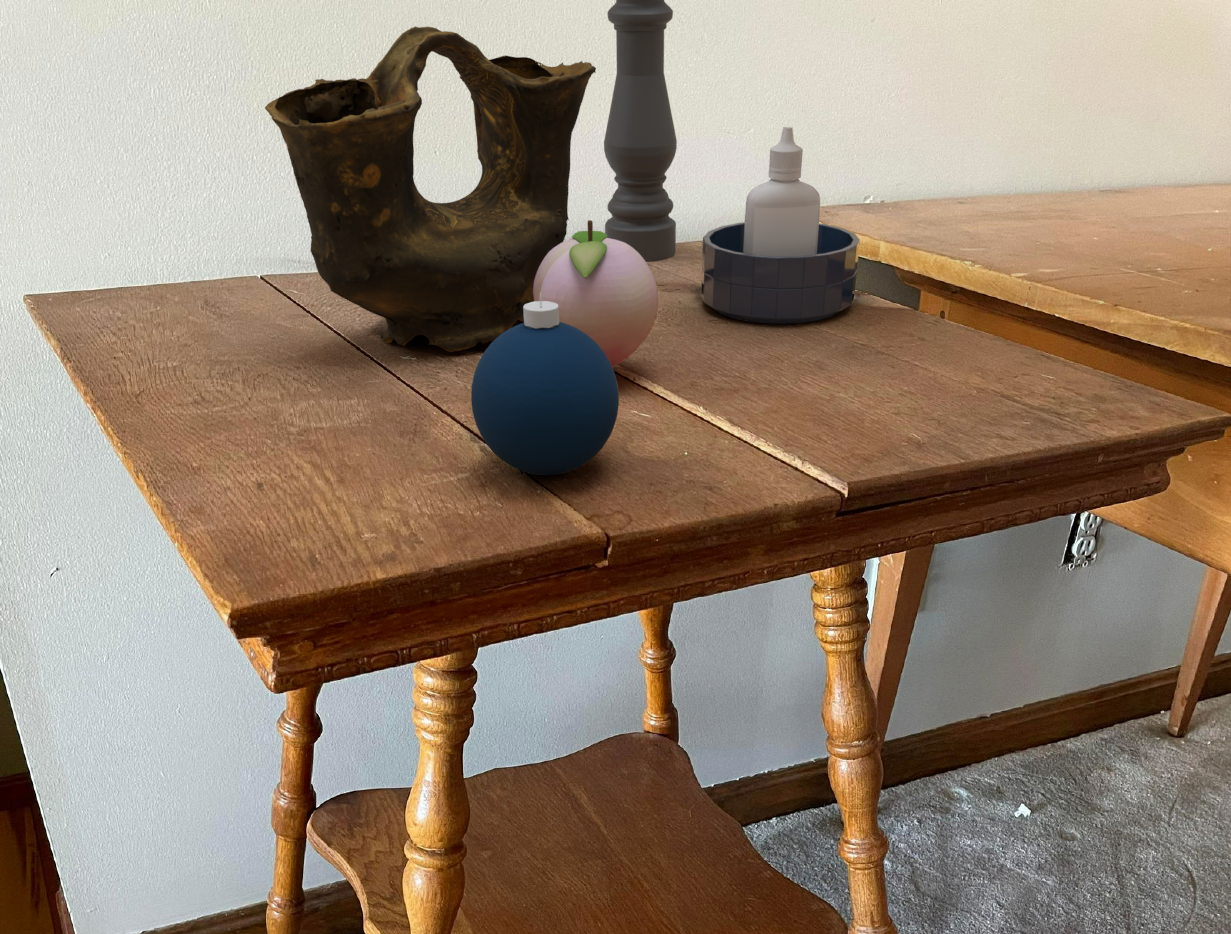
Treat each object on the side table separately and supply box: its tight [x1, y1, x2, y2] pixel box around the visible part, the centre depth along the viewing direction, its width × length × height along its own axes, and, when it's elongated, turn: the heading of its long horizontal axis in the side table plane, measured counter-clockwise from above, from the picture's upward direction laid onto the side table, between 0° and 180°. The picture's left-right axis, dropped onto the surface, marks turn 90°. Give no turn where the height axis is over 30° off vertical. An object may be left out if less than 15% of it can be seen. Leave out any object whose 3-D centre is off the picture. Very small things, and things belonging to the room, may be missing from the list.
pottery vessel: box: [264, 26, 597, 353], centre depth 90 cm, size 25×11×20 cm, turn 131°
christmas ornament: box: [470, 292, 620, 476], centre depth 71 cm, size 8×8×10 cm
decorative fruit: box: [533, 219, 659, 368], centre depth 85 cm, size 9×8×10 cm
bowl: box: [701, 221, 861, 325], centre depth 100 cm, size 12×12×5 cm
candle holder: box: [603, 0, 678, 263], centre depth 104 cm, size 6×6×25 cm
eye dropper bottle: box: [743, 126, 821, 256], centre depth 97 cm, size 4×6×12 cm
